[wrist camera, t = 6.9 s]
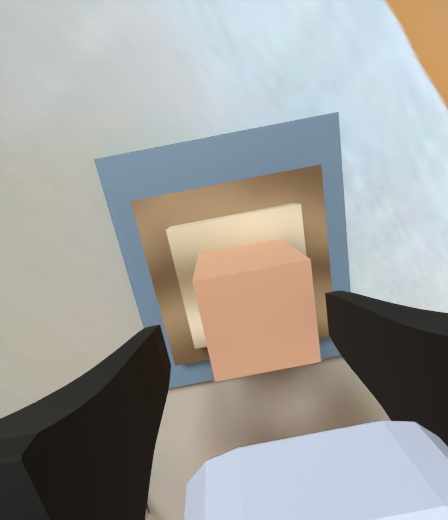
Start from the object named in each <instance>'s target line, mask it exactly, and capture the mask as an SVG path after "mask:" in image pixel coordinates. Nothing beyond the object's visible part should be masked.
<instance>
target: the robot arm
mask: <svg viewBox="0 0 448 520" xmlns="http://www.w3.org/2000/svg"><path fill="white" fill-rule="evenodd" d="M325 298H326V309H327V320H328V331H329V336H330V338H331V340H332V342H333V343H334V345H335V347H336V348H337V350H338V352H339V353H340V355H341V356H342V357H343V358H344V360H345V361H346V362H347V364H348V365H349V366H350V367H351V369H352V370H353V371H354V372H355V373H356V375H357V376H358V377H359V378H360V380H361V381H362V382H363V383H364V384H365V386H366V387H367V388H368V389H369V391H370V392H371V393H372V394H373V396H374V397H375V398H376V399H377V401H378V402H379V403H380V405H381V406H382V407H383V409H384V410H385V412H386V413H387V415H388V416H389V418H390V419H391V421H373V422H368V423H363V424H358V425H352V426H347V427H342V428H336V429H331V430H326V431H321V432H315V433H310V434H305V435H300V436H294V437H289V438H284V439H279V440H273V441H268V442H263V443H258V444H252V445H247V446H242V447H237V448H235V449H232V450H230V451H228V452H225V453H223V454H220V455H218V456H216V457H213V458H211V459H209V460H207V461H206V462H205V463H204V464H203V465H202V467H201V468H200V469H199V470H198V471H197V473H196V474H195V475H194V476H193V477H192V479H191V480H190V481H189V482H188V484H187V490H186V502H185V514H184V520H448V313H442V312H435V311H429V310H422V309H417V308H412V307H407V306H403V305H398V304H394V303H390V302H385V301H382V300H378V299H374V298H370V297H366V296H363V295H359V294H355V293H351V292H346V291H340V290H339V291H333V292H328V293H325ZM170 373H171V363H170V359H169V355H168V352H167V348H166V344H165V341H164V337H163V333H162V330H161V326H160V325H155V326H149V327H146V328H144V329H142V330H141V331H140V332H138V333H137V334H136V335H134V336H133V337H132V338H131V339H130V340H128V341H127V342H126V343H125V344H123V345H122V346H121V347H120V348H119V349H117V350H116V351H115V352H114V353H112V354H111V355H110V356H108V357H107V358H106V359H104V360H103V361H102V362H100V363H99V364H98V365H96V366H95V367H94V368H92V369H91V370H89V371H88V372H86V373H85V374H83V375H82V376H80V377H79V378H77V379H76V380H74V381H72V382H71V383H69V384H68V385H66V386H64V387H62V388H61V389H59V390H57V391H55V392H53V393H52V394H50V395H48V396H46V397H44V398H43V399H41V400H39V401H37V402H35V403H33V404H31V405H29V406H27V407H25V408H23V409H21V410H19V411H17V412H14V413H12V414H10V415H8V416H6V417H4V418H1V419H0V520H146V519H147V516H148V511H147V508H146V507H147V499H148V491H149V483H150V476H151V469H152V462H153V454H154V449H155V444H156V439H157V435H158V431H159V427H160V423H161V419H162V415H163V410H164V406H165V402H166V398H167V394H168V389H169V383H170Z"/></svg>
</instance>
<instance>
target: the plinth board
mask: <svg viewBox="0 0 448 520" xmlns="http://www.w3.org/2000/svg"><path fill="white" fill-rule="evenodd" d="M94 160H95V164H96V167H97V171H98V174H99V177H100V181H101V184H102V188H103V191H104V194H105V198H106V201H107V205H108V208H109V211H110V215H111V218H112V222H113V225H114V228H115V232H116V235H117V239H118V242H119V245H120V249H121V252H122V256H123V259H124V263H125V266H126V269H127V273H128V276H129V280H130V283H131V286H132V290H133V293H134V297H135V300H136V303H137V307H138V310H139V314H140V317H141V320H142V324H143V327H144V328H146V327H149V326H155V325H160V326H161V330H162V333H163V337H164V341H165V344H166V348H167V352H168V355H169V359H170V363H171V373H170V383H169V389H170V388H175V387H180V386H185V385H191V384H196V383H201V382H206V381H211V380H215V379H214V375H213V370H212V366H211V361H210V357H209V353H208V348H207V344H206V339H205V335H204V331H203V326H202V322H201V317H200V313H199V309H198V304H197V300H196V295H195V291H194V287H193V282H192V281H193V276H194V272H195V267H196V262H197V258H198V254H202V253H208V252H213V251H218V250H223V249H229V248H234V247H239V246H244V245H250V244H255V243H260V242H265V241H271V240H276V239H282V240H283V241H284V242H286V243H287V244H289V245H290V246H292V247H293V248H295V249H296V250H298V251H299V252H301V253H302V254H304V255H305V256H307V257H308V258H309V259H311V268H312V278H313V288H314V297H315V307H316V317H317V327H318V336H319V346H320V356H321V359H327V358H332V357H337V356H341V355H340V353H339V352H338V350H337V348H336V347H335V345H334V343H333V342H332V340H331V338H330V336H329V331H328V320H327V309H326V298H325V293H328V292H333V291H339V290H340V291H346V292H350V278H349V263H348V248H347V233H346V219H345V204H344V189H343V174H342V160H341V145H340V130H339V115H338V112H336V113H331V114H326V115H321V116H315V117H310V118H305V119H300V120H295V121H290V122H284V123H279V124H274V125H269V126H264V127H259V128H254V129H248V130H243V131H238V132H233V133H228V134H223V135H217V136H212V137H207V138H202V139H197V140H192V141H186V142H181V143H176V144H171V145H166V146H161V147H155V148H150V149H145V150H140V151H135V152H130V153H124V154H119V155H114V156H109V157H104V158H99V159H94Z"/></svg>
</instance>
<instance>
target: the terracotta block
mask: <svg viewBox="0 0 448 520" xmlns="http://www.w3.org/2000/svg"><path fill="white" fill-rule="evenodd" d="M192 282H193V287H194V291H195V295H196V300H197V304H198V309H199V313H200V317H201V322H202V326H203V331H204V335H205V339H206V344H207V348H208V353H209V357H210V361H211V366H212V370H213V375H214V379H215V382H217V381H223V380H228V379H233V378H238V377H244V376H249V375H254V374H260V373H265V372H270V371H276V370H281V369H286V368H291V367H297V366H302V365H307V364H313V363H318V362H321V356H320V346H319V336H318V327H317V317H316V307H315V297H314V288H313V278H312V268H311V259H309V258H308V257H307V256H305V255H304V254H302V253H301V252H299V251H298V250H296V249H295V248H293V247H292V246H290V245H289V244H287V243H286V242H284V241H283V240H282V239H276V240H271V241H265V242H260V243H255V244H250V245H244V246H239V247H234V248H229V249H223V250H218V251H213V252H208V253H202V254H198V258H197V262H196V267H195V272H194V276H193V281H192Z"/></svg>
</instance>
